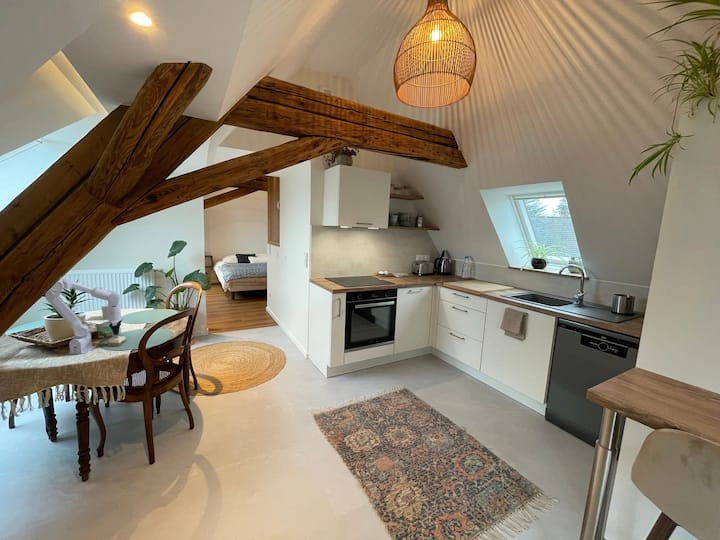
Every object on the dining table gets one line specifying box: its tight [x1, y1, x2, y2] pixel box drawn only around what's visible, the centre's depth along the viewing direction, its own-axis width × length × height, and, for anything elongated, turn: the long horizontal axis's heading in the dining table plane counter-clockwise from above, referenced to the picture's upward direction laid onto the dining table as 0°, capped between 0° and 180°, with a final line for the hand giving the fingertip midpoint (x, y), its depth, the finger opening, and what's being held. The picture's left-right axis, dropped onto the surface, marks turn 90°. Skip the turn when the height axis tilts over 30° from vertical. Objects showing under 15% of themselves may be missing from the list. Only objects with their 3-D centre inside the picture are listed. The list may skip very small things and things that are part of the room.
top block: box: [108, 335, 126, 343], centre depth 181 cm, size 6×6×2 cm
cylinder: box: [111, 327, 122, 338], centre depth 181 cm, size 4×4×4 cm
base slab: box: [107, 338, 128, 347], centre depth 182 cm, size 6×6×2 cm
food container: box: [95, 320, 113, 340], centre depth 192 cm, size 12×6×10 cm, turn 168°
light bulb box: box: [101, 303, 109, 321], centre depth 226 cm, size 11×7×11 cm, turn 17°
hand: (116, 333), depth 181 cm, fingers closed on cylinder, 4 cm apart
